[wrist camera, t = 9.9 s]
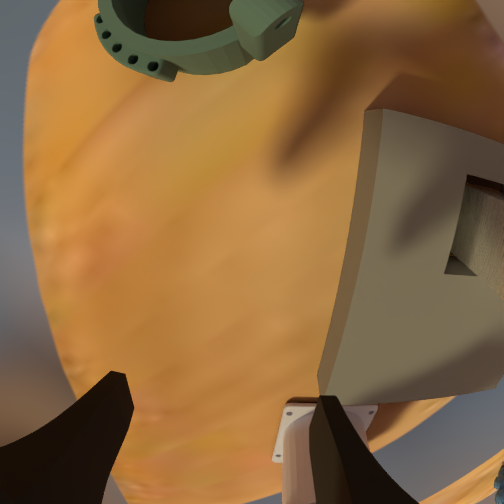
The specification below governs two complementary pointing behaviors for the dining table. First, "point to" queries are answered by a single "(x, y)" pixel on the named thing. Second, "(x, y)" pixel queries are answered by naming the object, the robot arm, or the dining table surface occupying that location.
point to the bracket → (197, 50)
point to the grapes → (499, 486)
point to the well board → (412, 271)
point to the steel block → (482, 235)
